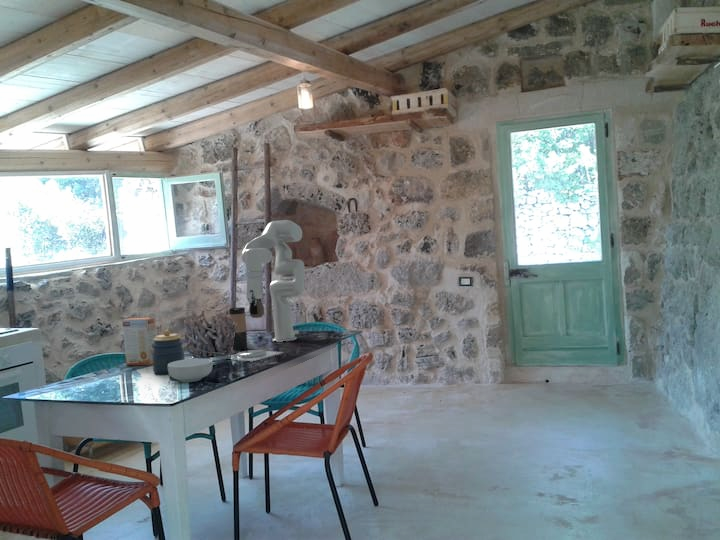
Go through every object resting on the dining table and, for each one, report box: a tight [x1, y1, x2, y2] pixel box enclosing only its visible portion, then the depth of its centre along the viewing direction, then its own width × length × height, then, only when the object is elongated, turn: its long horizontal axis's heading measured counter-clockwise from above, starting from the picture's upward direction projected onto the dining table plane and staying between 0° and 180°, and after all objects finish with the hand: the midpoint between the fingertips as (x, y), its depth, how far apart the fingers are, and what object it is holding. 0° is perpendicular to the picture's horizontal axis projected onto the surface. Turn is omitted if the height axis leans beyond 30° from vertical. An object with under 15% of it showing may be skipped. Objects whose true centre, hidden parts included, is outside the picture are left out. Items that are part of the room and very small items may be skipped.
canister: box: [151, 329, 186, 376], centre depth 268 cm, size 13×13×18 cm
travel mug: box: [228, 307, 248, 351], centre depth 315 cm, size 8×8×20 cm
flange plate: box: [230, 349, 284, 363], centre depth 292 cm, size 20×20×2 cm
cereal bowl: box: [168, 358, 214, 383], centre depth 249 cm, size 17×17×7 cm
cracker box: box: [122, 317, 157, 367], centre depth 290 cm, size 14×6×21 cm, turn 65°
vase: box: [248, 299, 265, 319], centre depth 300 cm, size 7×7×9 cm
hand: (256, 313), depth 300 cm, fingers closed on vase, 6 cm apart
